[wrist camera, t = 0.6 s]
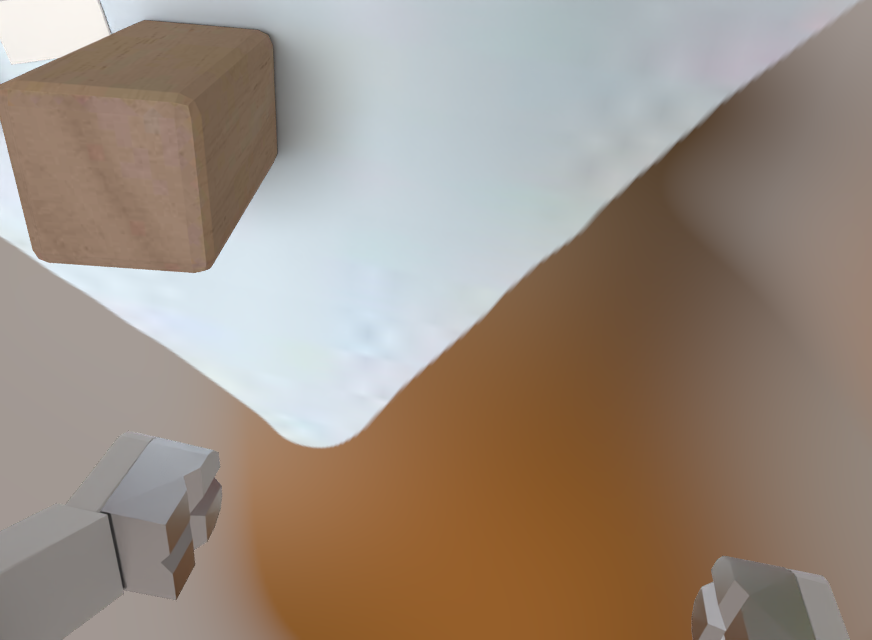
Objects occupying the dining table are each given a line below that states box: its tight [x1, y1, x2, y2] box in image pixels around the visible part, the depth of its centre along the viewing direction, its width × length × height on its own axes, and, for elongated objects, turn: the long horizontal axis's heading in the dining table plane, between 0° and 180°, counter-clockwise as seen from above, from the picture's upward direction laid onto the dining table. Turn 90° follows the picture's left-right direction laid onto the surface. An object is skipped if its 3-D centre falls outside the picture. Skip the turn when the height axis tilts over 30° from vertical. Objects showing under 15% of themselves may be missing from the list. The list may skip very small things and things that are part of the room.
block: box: [0, 20, 277, 273], centre depth 45 cm, size 10×10×20 cm
